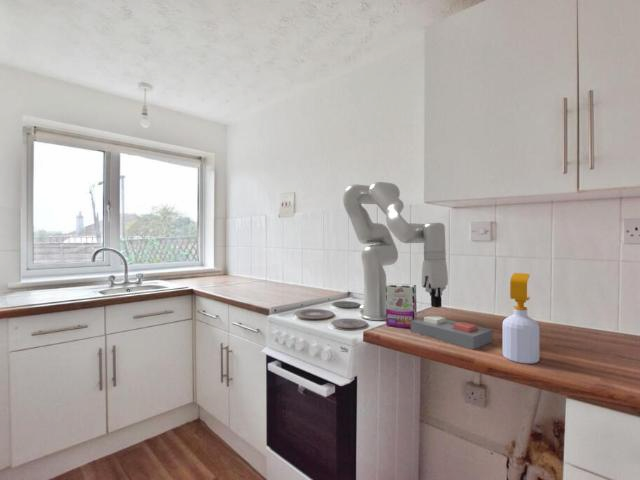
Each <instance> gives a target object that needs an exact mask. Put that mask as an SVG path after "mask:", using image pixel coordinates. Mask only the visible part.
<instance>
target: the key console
mask: <svg viewBox="0 0 640 480" xmlns="http://www.w3.org/2000/svg"><path fill="white" fill-rule="evenodd" d="M456 323H459V321H455V320H452V319H451V320H450V319H447V318H445V323H441V324H438V325H436V324H432V323H428V322H424V317H420V318H417V319H416V320H412V321H411V329H410V332H411V331H412V332H411V333H414V332H415V334H418V333H419V334H418V335H421V334H422V336H425V337H428V336H429V337H428V338H431V337H432V338H431V339H435V338H436V339H435V340H438V339H439V340H438V341H441V342H442V341H443V342H445V341H446V342H447V343H449V344H452V343H453V344H452V345H456V346H459V347H464V348H467V349H470V350H475V349H478V348H481V347H483V346H485V345H487V344H490V343H492V342H493V329H490V328H485V327H482V326H478V330H476V331H473V332H470V333H468V332H464V331H460V330H456V329H454V324H456Z"/></svg>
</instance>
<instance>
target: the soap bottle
mask: <svg viewBox="0 0 640 480" xmlns="http://www.w3.org/2000/svg"><path fill="white" fill-rule="evenodd" d="M529 278H530V273H522V272H520V273H519V272H513V274H512V276H511V277H510V283H509V284H510V286H509V291H510V293H509V295H510V296H509V297H510V299H511V300H514V301H515V302H516V305H514V306H513V314H512V315H509V316H507V317H506V318H504V319H503V321H502V356H503V357H504V358H505V359H507V360H509V361H511V362H515V363H518V364H519V363H520V364H527V365H528V364H536V363H538V362H539V361H540V325H539V323H538V322H537V321H535V319H533V318H532V317H530V316H529V315H528V307H526V306H525V303H526V302H527V301H529V300H530V299H531V297H530V296H528V280H529Z"/></svg>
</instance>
